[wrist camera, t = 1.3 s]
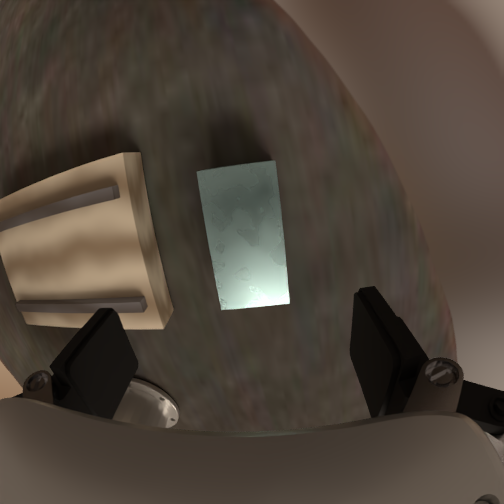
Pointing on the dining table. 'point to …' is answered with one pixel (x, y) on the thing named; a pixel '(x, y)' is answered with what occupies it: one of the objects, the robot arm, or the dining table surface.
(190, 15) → the dining table surface
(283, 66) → the dining table surface
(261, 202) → the housing
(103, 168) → the stand
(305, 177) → the dining table surface
